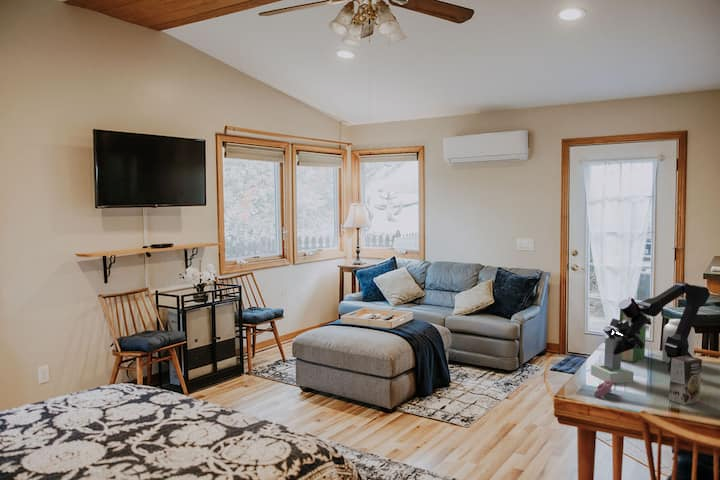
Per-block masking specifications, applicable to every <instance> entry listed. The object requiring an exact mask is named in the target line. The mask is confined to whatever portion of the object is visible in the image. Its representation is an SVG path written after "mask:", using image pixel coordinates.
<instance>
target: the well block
mask: <svg viewBox="0 0 720 480" xmlns="http://www.w3.org/2000/svg"><path fill="white" fill-rule="evenodd" d="M590 366H591V367H590V368H591V369H590V375H591V376H594V377H596V378H598V379H599V380H602V381H603V382H604V381H605V380H608V379H609V380H611V381H613V382H614V383H613V384H620V383H633V382H634V373H635V372H634V371H632V370H629V369H627V368H625V367H623V366H621V369H618V370H611V369H609V368H607V367H605V366H604V363H603V364H602V363H601V364H591V365H590Z"/></svg>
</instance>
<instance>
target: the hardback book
mask: <svg viewBox="0 0 720 480" xmlns="http://www.w3.org/2000/svg"><path fill="white" fill-rule="evenodd" d="M645 316H646V317H647V316H648V315H645ZM629 319H630V318H627V317H626V316H625V315H624V313H623V312H622V311H621V310H620V309H619V320H620V321H623V320H626V321H628V320H629ZM646 329H647V324H645V325H644V326H643V327H642V328H641V329H640V334H636V335H635V336H638V337H639V338H640V339H641V341H642V342H643V343H644V347H643V348H642V349H641V350H640V349H637V348H636V345H635V346H634V348H635V349H631V350H628V351H625V352H622V353H621V361H622V360H623V361H627V362H632V364H637V363H638V362H639V361H640V360H642V358H644V357H645V355H646V354H645V352H646V333H647V331H646ZM621 337H622V336H621ZM618 340H621V341H622V339H620V338H619V339H618Z"/></svg>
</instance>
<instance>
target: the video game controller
mask: <svg viewBox="0 0 720 480" xmlns="http://www.w3.org/2000/svg"><path fill="white" fill-rule="evenodd" d="M613 384H615V383H614V382H613V381H611V380H609V379H608V380H605V381H604V380H603V382H602V383H599V385H598V386H597V387H596V388H597V390H595V391H594V393H593V395H594V397H595V398H601V397H603V396H604V397H606V396H607V395H608V394H609V393H612V391H613V390H612V387H613Z"/></svg>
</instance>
